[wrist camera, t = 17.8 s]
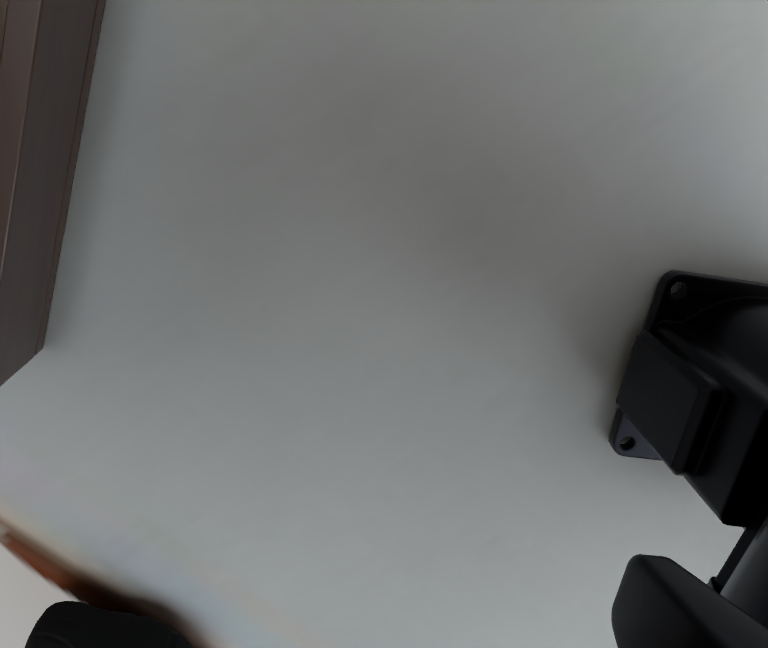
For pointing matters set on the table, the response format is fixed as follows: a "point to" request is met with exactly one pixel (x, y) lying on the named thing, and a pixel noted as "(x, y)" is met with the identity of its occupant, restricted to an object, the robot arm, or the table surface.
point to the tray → (38, 156)
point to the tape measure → (100, 629)
